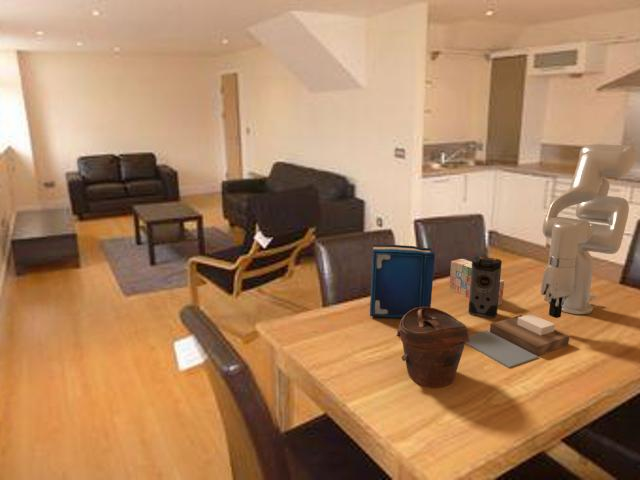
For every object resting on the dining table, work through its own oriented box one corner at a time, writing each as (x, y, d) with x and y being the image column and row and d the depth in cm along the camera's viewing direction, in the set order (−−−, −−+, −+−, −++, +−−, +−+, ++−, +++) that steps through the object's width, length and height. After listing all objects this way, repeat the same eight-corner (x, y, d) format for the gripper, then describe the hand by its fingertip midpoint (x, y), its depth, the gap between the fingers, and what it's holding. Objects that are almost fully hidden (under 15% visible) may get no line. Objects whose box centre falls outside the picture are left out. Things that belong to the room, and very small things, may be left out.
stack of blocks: (502, 304, 182) (505, 272, 178) (490, 307, 179) (493, 275, 175) (460, 286, 200) (462, 257, 196) (449, 289, 197) (450, 260, 194)
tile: (530, 320, 160) (530, 313, 159) (554, 331, 152) (554, 324, 152) (517, 324, 157) (517, 317, 157) (540, 335, 150) (541, 328, 149)
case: (413, 350, 147) (415, 295, 142) (478, 372, 135) (482, 312, 130) (381, 376, 134) (382, 316, 129) (449, 403, 122) (453, 338, 117)
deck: (520, 323, 165) (520, 315, 164) (568, 345, 150) (569, 336, 149) (489, 332, 159) (490, 323, 158) (536, 356, 144) (537, 346, 143)
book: (430, 312, 175) (434, 244, 169) (433, 320, 168) (436, 250, 162) (369, 310, 177) (371, 243, 171) (369, 318, 170) (371, 249, 164)
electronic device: (467, 314, 173) (471, 260, 168) (470, 308, 178) (474, 255, 173) (495, 319, 169) (499, 263, 163) (497, 313, 174) (502, 259, 168)
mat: (486, 331, 160) (486, 330, 159) (538, 357, 142) (538, 356, 142) (458, 339, 154) (458, 338, 154) (508, 368, 137) (509, 366, 137)
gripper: (566, 255, 160) (559, 308, 164) (535, 261, 153) (528, 316, 158) (588, 261, 154) (580, 316, 158) (556, 268, 147) (549, 324, 151)
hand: (554, 316), depth 158 cm, fingers closed
